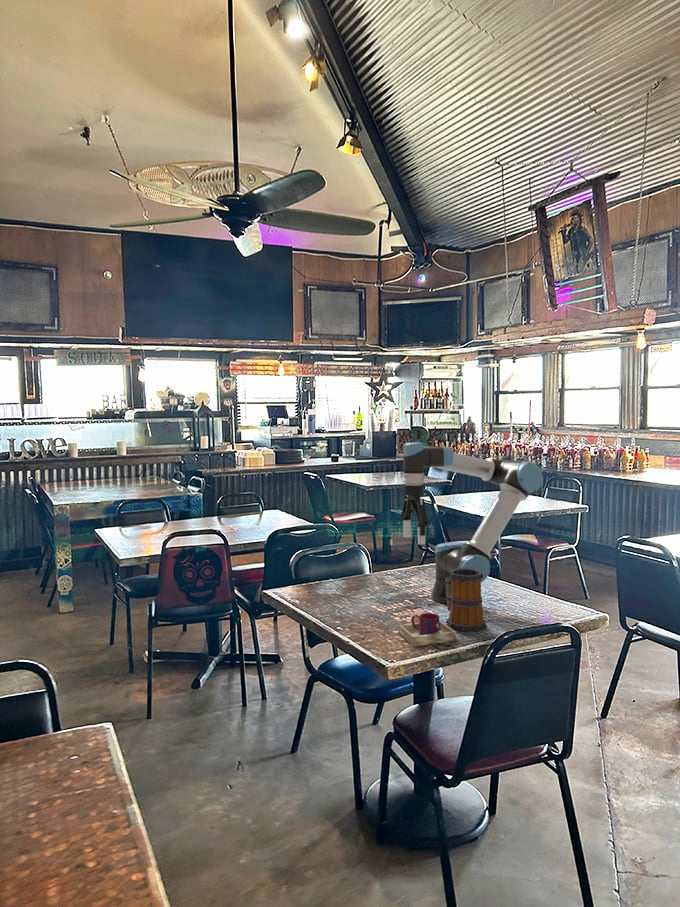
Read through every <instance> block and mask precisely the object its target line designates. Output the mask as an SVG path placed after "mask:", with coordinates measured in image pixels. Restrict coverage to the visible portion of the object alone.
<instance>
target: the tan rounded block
mask: <svg viewBox="0 0 680 907" xmlns="http://www.w3.org/2000/svg"><path fill="white" fill-rule="evenodd" d="M424 613H425V612H423V611H414V612H411V613H410V624H412V617H413V616H414V615H419V616H420V615H421V614H424ZM414 623H420V619H419V618H418V617H416V616H415V617H414Z"/></svg>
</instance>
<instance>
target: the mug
mask: <svg viewBox="0 0 680 907" xmlns="http://www.w3.org/2000/svg"><path fill="white" fill-rule="evenodd" d="M482 578H483V575H482V572H481V571H479V570H476V569H470V568H457V569H453V570H451V571H450V572H449V576H448V577H446V578H445V584H446V591H447V596H446V600H447V604H446V607H447V608H446V609H447V612H449V613H448V614H449V615H448V618H447V619H446V621H445V622H446V625H447V626H449V627H450V628H451V629H453V630H454V631H456V634H461V633H464V635H475V634H474V633H477V634H480V633H484V632H486V631H487V628H488V625H487V623H486V620H485V618H484V612H483V597H482V582H481V579H482ZM485 630H486V631H485ZM483 631H484V632H483Z"/></svg>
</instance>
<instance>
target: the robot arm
mask: <svg viewBox="0 0 680 907" xmlns="http://www.w3.org/2000/svg"><path fill="white" fill-rule="evenodd" d="M402 457H403V459H402V460H403V475H402V479H403V483H404V485H403V494H404V495H403V501H402V507H401V508H402V509H401V511H400V512H401V513H400V518H401V519H402V520H403V523H402V524H403V538H404V539H405V538H406V539H407V538H412V531H411V530H412V529H411V528H412V522H411V521H412V518H411V517H412V514H413V512H414V514H415V518H416V521H417V526H416V527H417V545H426V527H427V526H429V520H428V516H427V510H426V505H425V499H424V498H421V496H424V495H425V485H424V483H425V468H435V469H440V470H445V471H450V472H454V473H458V474H463V475H468V476H471V477H478V478H481V480H482V481H484V482H490V483H492V484H496V485H497V486H499V487H500V488H499V489H500V490H499V492H498V494H497V496H496V498H495V499H494V501H493V503H492V504H491V506H490V508H489V509H488V511H487V512H486V514H485V516H484V517H483V520H482V521H481V522H480V525H479V526H478V528H477V530H476V531H475V532H474V534H473V536H472V537H471V540H468V541H465V542H464V543H462V542H445V543H444V542H443V543H442V542H441V543H439V544H436V546H435V552H434V555H435V558H434V559H435V566H434V567H435V579H434V580H435V581H434V583H433V587H432V590H431V594H430V595H431V601H433V602H435V603H439V604H445V605H447V600H446V596H447V591H446V584H445V578H446V577H448V576H449V572H450V571H451V570H453V569H457V568H470V569H476V570H479V571H481V572H482V575H483V578H482V579H481V583H483V582H485V580H486V579H487V578H488V577H489V575H490V572H491V568H490V567H491V564H490V561H491V559H492V556H491V552H492V550H493V548H494V546H495V545H496V543H497V541H498V540H499V538H500V536H501V535H502V533H503V531H504V530H505V528H506V526H507V525H508V522H509V521H510V520H511V518H512V517H513V515H514V513H515V511H516V509H517V507H518V506H519V504H520V503H521V502H523V501H526V500H527V498H528V497H529V495H530V493H534V492H537V491H538V490H540V488H541V486H542V484H543V479H544V478H543V475H542V474H543V473H542V472H543V471H542V470H541V468H540V466H538V464H536V463H534V462H531V461H527V460H524V461H523V460H516V459H515V460H514V459H498V458H497V459H495V458H492V457H491V458H490V457H488V458H485V459H483V458H479V457H476V456H469V455H465V454H461V453H458V452H457V453H456V452H454V451H453V450H452V448H451V447H449V446H429V445H424V443H423V442H406V443H404V445H403V452H402Z"/></svg>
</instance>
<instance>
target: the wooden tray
mask: <svg viewBox="0 0 680 907" xmlns="http://www.w3.org/2000/svg"><path fill="white" fill-rule="evenodd" d="M414 624H415V626H416V627H418V628H419V629H420V623H414ZM446 624H447V623H446ZM446 624H445V623H444V622H443V621H442V620H440V619H439V633H436V634H428V635H420V631H418V630H417V629H415V628H414V627H413V625H412V624H411V623H405V624H398V634H399V636H401V637H402V638H403V639H404V640H405V641H407V642H408V643H409V644H410V645H411V646H412V647H418V646H424V645H425V646H426V645H432V644H433V645H434V644H439V643H447V642H455V641H457V633H456V631H454V630H453V629H451V628H450V627H449V626H447V625H446Z"/></svg>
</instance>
